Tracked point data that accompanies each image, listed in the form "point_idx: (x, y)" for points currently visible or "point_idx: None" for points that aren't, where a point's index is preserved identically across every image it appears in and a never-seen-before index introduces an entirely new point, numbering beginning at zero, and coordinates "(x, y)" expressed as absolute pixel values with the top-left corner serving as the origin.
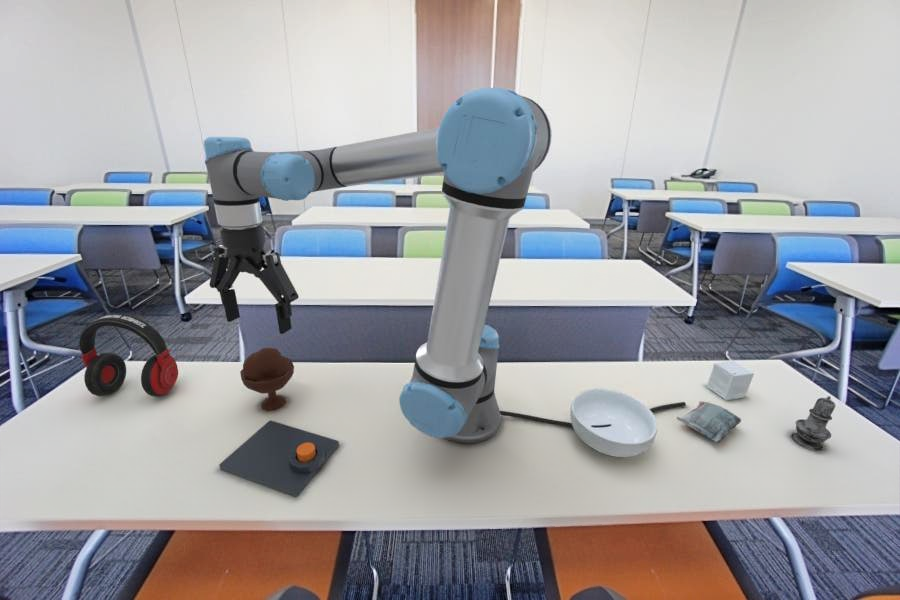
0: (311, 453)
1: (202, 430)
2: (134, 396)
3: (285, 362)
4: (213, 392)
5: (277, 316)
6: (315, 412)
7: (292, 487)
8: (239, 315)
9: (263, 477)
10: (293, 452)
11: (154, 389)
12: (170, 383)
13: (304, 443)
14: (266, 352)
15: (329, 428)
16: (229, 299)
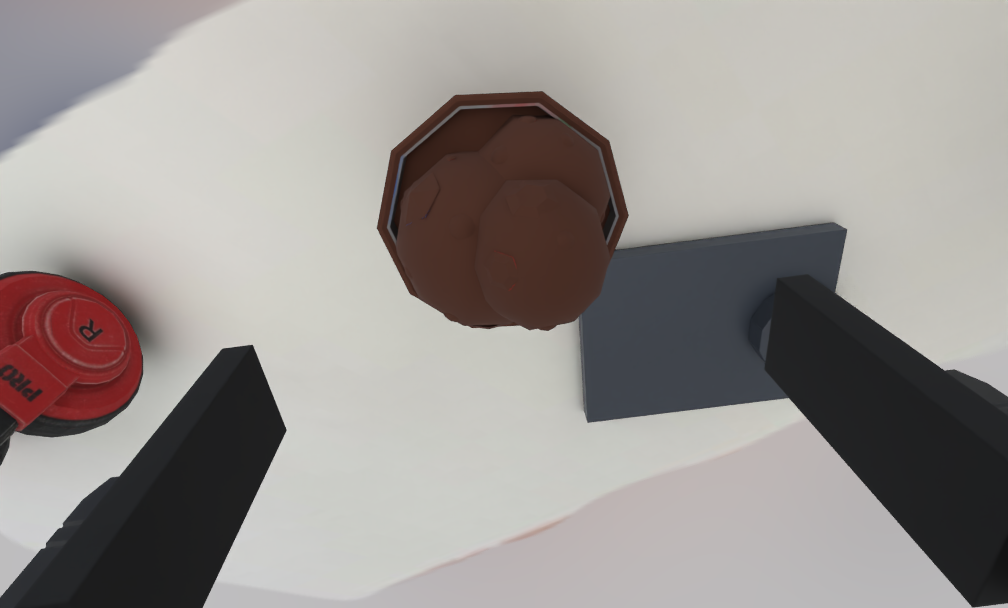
0: None
1: (412, 357)
2: None
3: (596, 185)
4: (242, 233)
5: (865, 477)
6: (672, 133)
7: None
8: (246, 355)
9: (717, 401)
10: (766, 345)
11: (136, 385)
12: (123, 334)
13: None
14: (567, 296)
15: (765, 174)
16: (179, 571)
